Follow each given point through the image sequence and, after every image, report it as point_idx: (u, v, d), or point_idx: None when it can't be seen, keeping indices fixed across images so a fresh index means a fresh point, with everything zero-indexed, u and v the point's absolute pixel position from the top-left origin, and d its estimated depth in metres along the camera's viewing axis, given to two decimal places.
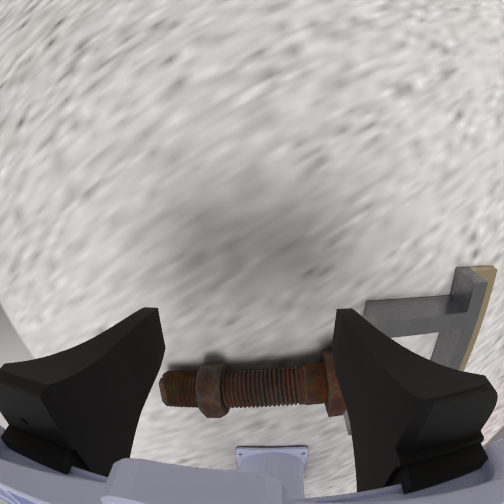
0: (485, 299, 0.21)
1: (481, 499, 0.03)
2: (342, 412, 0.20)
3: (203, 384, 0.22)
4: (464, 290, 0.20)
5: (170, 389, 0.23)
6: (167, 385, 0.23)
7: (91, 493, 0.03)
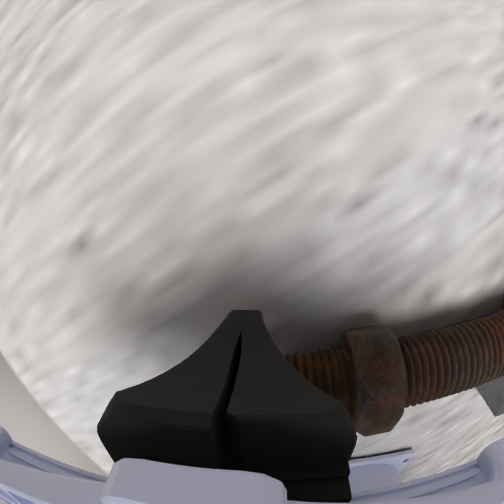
0: None
1: (481, 499, 0.03)
2: None
3: (374, 367, 0.10)
4: None
5: None
6: None
7: (91, 493, 0.03)
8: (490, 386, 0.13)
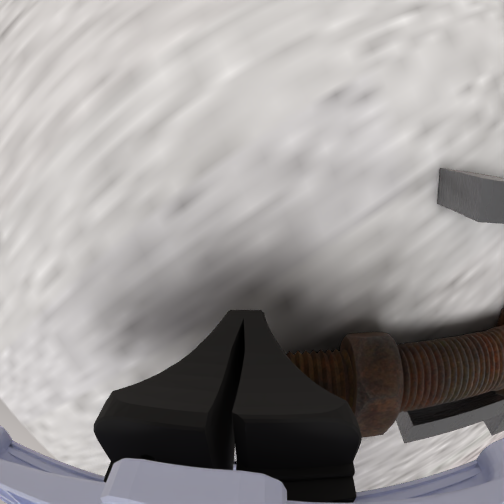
0: None
1: (481, 499, 0.03)
2: None
3: (373, 370, 0.10)
4: None
5: None
6: None
7: (91, 493, 0.03)
8: None
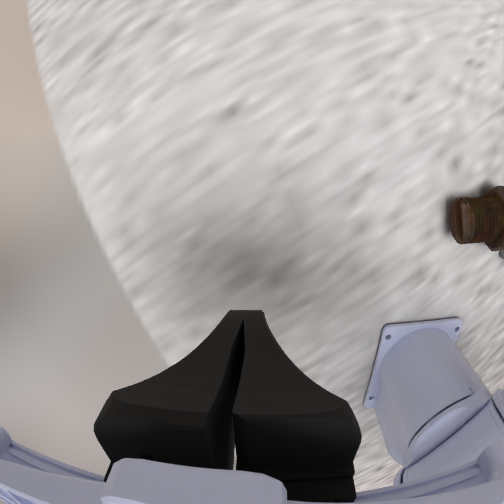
0: None
1: (481, 499, 0.03)
2: None
3: None
4: None
5: (478, 209, 0.16)
6: (473, 205, 0.16)
7: (91, 493, 0.03)
8: None
